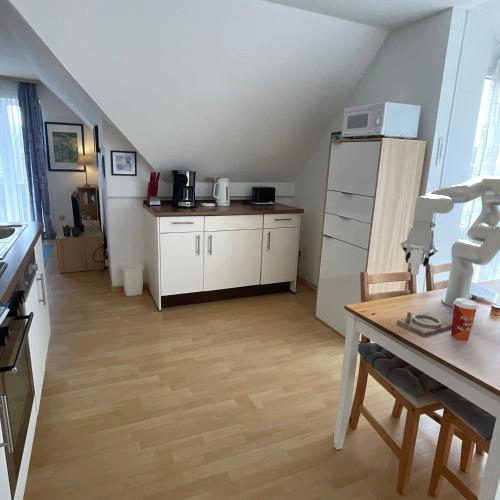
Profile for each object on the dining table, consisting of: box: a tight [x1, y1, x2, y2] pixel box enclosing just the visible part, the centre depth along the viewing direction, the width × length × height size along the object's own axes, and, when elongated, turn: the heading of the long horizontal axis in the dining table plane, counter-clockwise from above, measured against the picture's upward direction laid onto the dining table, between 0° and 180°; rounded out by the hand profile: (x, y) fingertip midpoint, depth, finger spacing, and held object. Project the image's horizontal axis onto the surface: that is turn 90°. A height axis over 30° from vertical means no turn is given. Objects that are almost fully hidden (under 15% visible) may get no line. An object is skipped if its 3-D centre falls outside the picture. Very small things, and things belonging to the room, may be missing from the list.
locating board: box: [396, 311, 452, 337], centre depth 151 cm, size 20×13×6 cm, turn 118°
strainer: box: [408, 244, 425, 276], centre depth 161 cm, size 7×7×15 cm
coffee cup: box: [450, 298, 479, 342], centre depth 141 cm, size 8×8×15 cm
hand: (416, 263), depth 162 cm, fingers closed on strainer, 6 cm apart
